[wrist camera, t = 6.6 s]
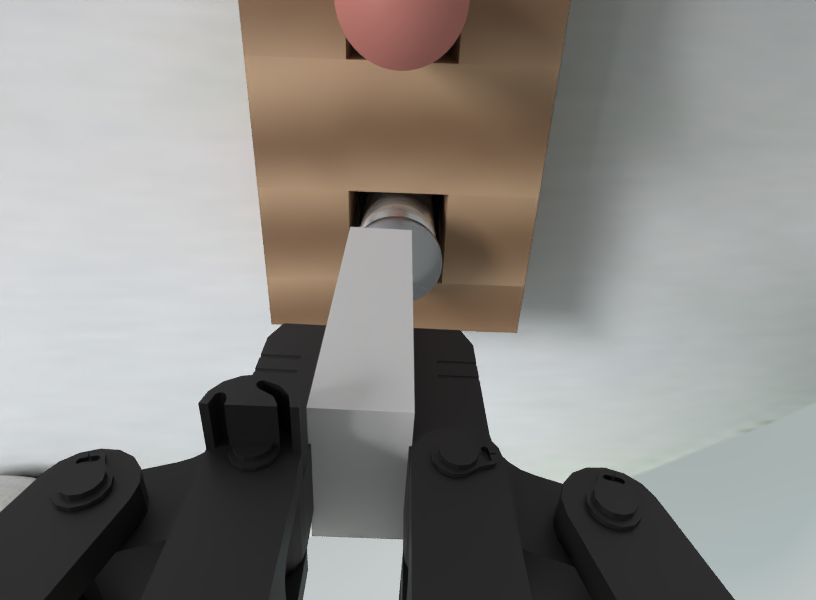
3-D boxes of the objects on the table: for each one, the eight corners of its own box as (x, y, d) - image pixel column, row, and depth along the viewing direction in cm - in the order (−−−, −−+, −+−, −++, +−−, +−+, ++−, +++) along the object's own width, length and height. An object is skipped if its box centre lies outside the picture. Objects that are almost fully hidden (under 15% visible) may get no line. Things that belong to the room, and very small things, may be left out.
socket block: (259, -146, 25) (219, -183, 20) (559, -132, 25) (597, -165, 20) (292, 276, 36) (271, 324, 31) (501, 283, 36) (516, 332, 31)
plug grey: (363, 163, 32) (348, 218, 24) (437, 166, 32) (445, 221, 24) (364, 232, 34) (349, 302, 27) (432, 235, 34) (439, 305, 27)
